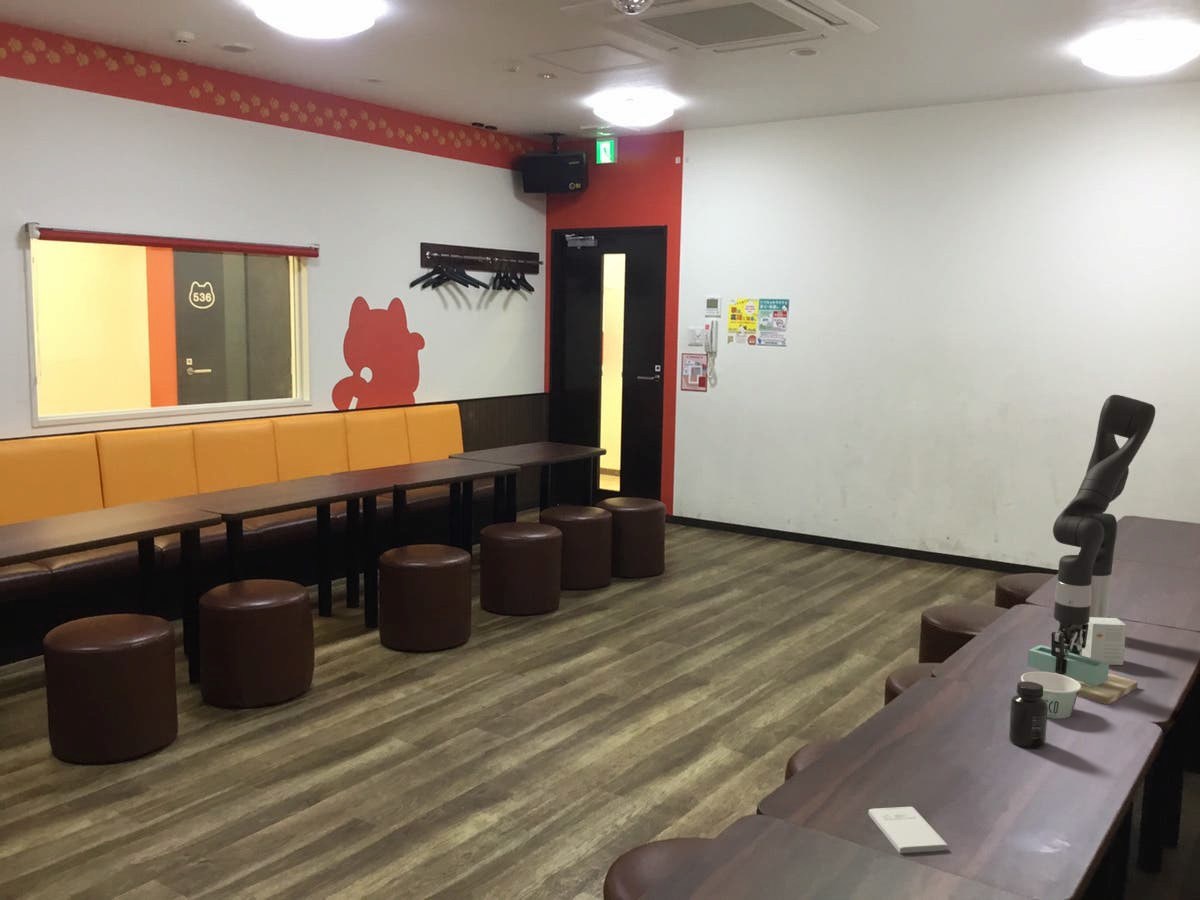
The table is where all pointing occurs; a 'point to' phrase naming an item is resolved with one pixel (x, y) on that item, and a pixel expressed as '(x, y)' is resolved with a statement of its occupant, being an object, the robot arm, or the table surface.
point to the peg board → (1107, 689)
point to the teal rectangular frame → (1070, 665)
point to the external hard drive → (907, 830)
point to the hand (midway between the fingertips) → (1067, 670)
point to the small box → (1105, 640)
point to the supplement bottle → (1028, 716)
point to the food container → (1056, 692)
